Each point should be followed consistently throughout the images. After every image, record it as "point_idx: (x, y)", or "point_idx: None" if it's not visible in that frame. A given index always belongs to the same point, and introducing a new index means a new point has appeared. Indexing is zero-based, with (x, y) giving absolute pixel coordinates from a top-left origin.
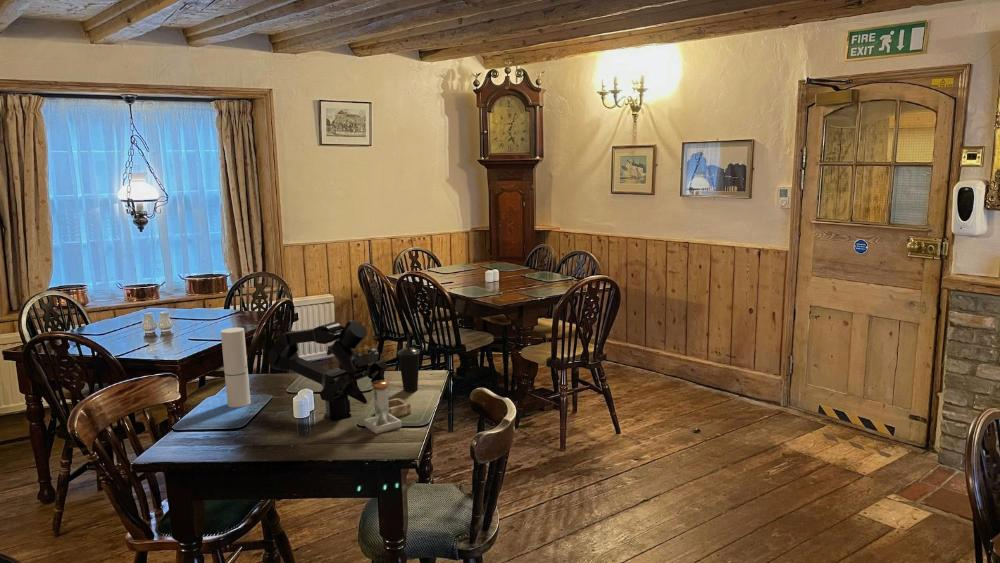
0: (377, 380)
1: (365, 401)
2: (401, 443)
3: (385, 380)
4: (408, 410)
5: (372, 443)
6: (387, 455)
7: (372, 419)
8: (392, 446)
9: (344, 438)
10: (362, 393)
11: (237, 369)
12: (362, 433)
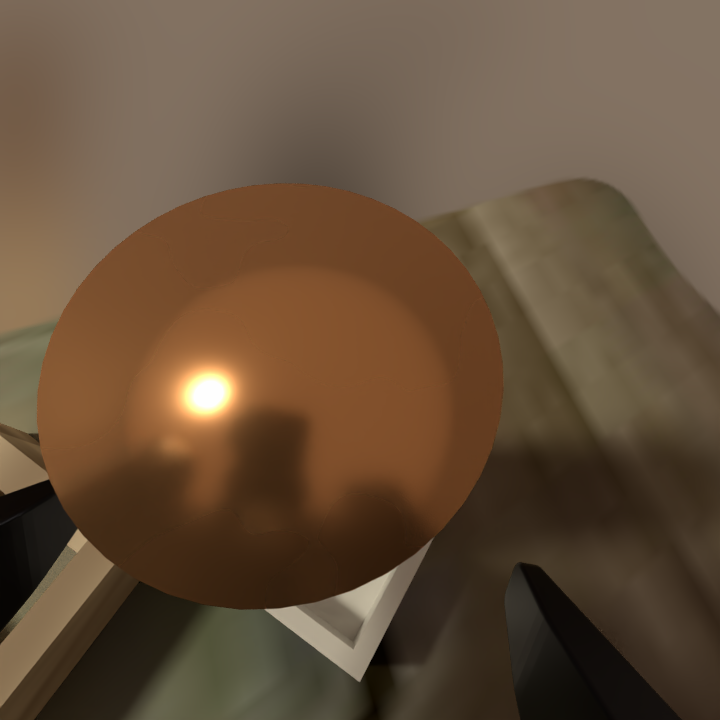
0: (100, 539)
1: (547, 582)
2: (513, 265)
3: (79, 321)
4: (21, 436)
5: (596, 407)
6: (667, 260)
7: (306, 610)
8: (568, 287)
9: (643, 667)
10: (601, 696)
11: None
12: (496, 577)
